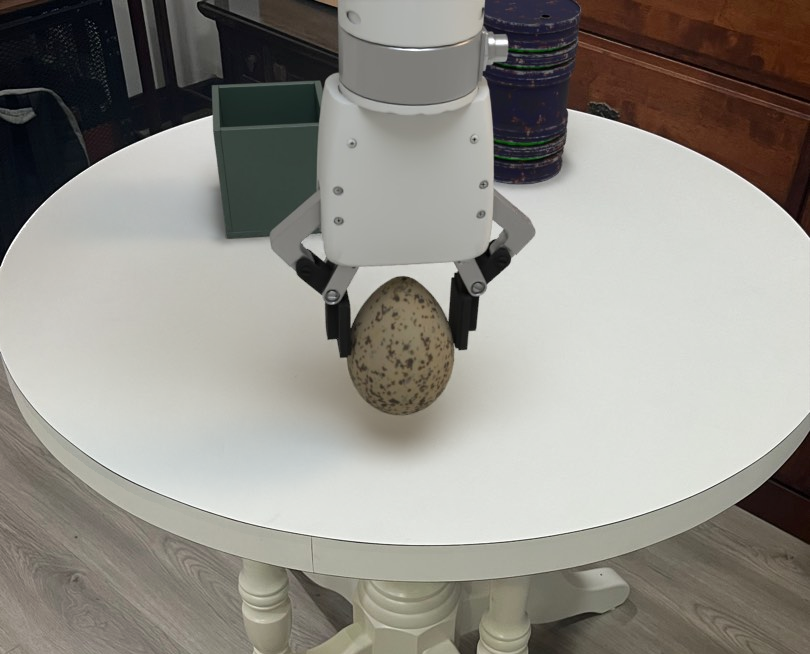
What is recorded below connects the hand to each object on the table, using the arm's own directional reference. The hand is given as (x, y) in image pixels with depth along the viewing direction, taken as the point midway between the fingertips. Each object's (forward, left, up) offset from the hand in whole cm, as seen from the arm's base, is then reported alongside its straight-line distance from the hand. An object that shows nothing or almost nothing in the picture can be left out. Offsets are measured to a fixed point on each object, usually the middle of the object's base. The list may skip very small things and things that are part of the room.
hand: (400, 340), depth 65 cm
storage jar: (+19, +43, -9) cm, 47 cm away
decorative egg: (0, 0, -5) cm, 5 cm away
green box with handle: (-11, +36, -3) cm, 38 cm away
